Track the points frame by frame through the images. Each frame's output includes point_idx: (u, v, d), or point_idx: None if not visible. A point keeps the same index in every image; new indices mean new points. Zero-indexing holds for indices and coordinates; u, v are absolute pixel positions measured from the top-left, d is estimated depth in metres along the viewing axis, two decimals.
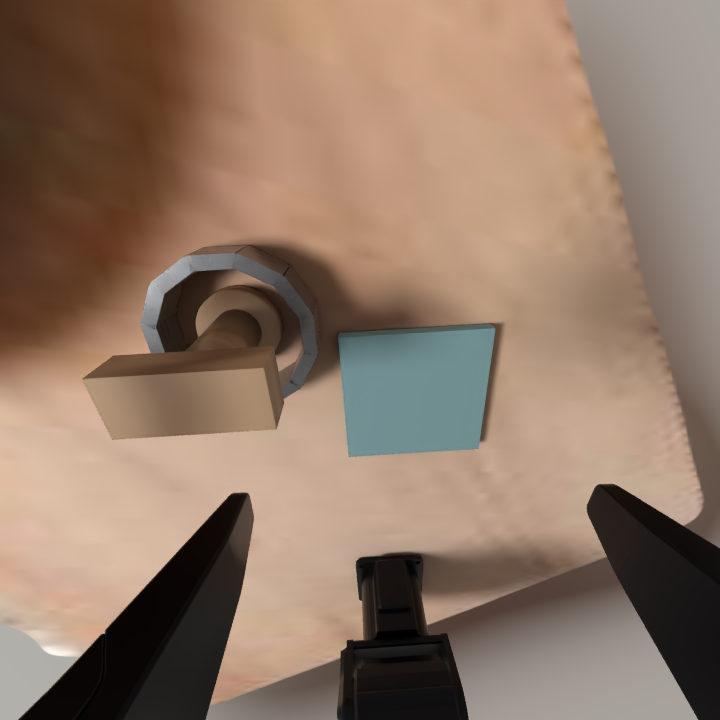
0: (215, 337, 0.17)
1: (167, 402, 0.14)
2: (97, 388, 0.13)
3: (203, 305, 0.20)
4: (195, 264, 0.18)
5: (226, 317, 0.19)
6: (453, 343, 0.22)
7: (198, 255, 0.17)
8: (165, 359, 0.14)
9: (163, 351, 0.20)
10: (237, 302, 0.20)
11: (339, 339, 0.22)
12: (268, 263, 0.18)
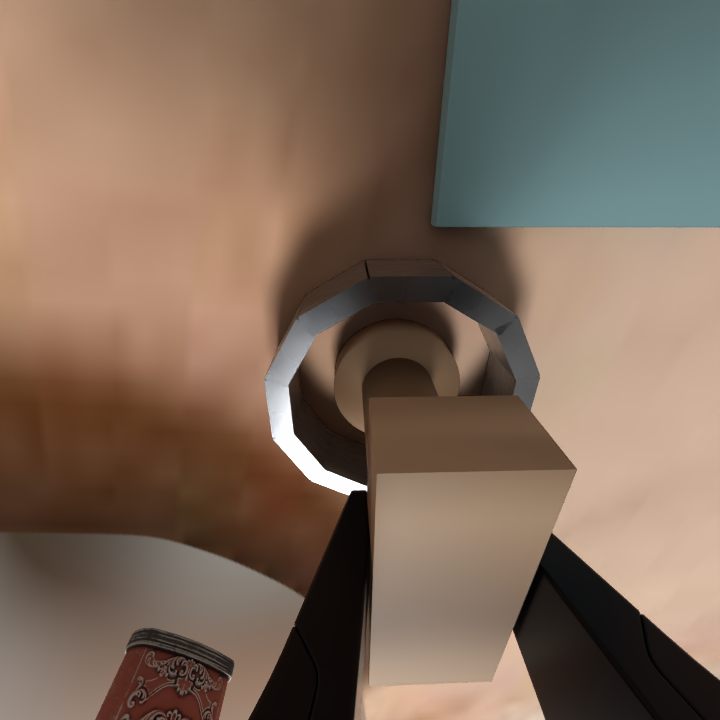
0: (368, 455, 0.10)
1: (434, 620, 0.07)
2: (387, 677, 0.08)
3: (353, 423, 0.14)
4: (284, 430, 0.13)
5: (363, 409, 0.12)
6: None
7: (271, 424, 0.13)
8: None
9: None
10: (350, 381, 0.13)
11: (439, 224, 0.11)
12: (287, 333, 0.12)
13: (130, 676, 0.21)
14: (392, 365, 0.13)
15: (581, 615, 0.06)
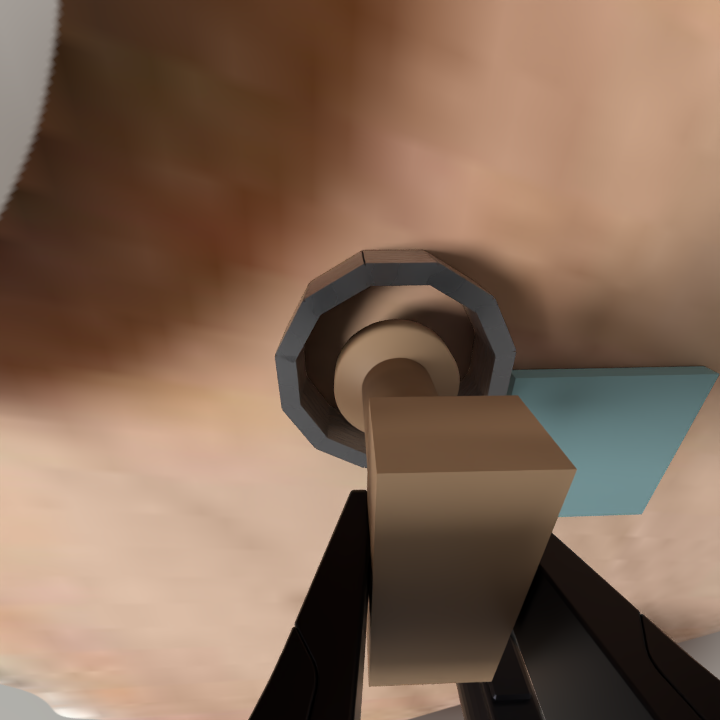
0: None
1: (435, 620, 0.07)
2: (387, 678, 0.08)
3: (353, 423, 0.14)
4: (375, 276, 0.12)
5: (363, 409, 0.12)
6: (660, 390, 0.17)
7: (383, 263, 0.12)
8: None
9: (297, 392, 0.14)
10: (351, 381, 0.13)
11: (516, 380, 0.16)
12: (466, 278, 0.13)
13: None
14: (392, 365, 0.13)
15: (581, 615, 0.06)
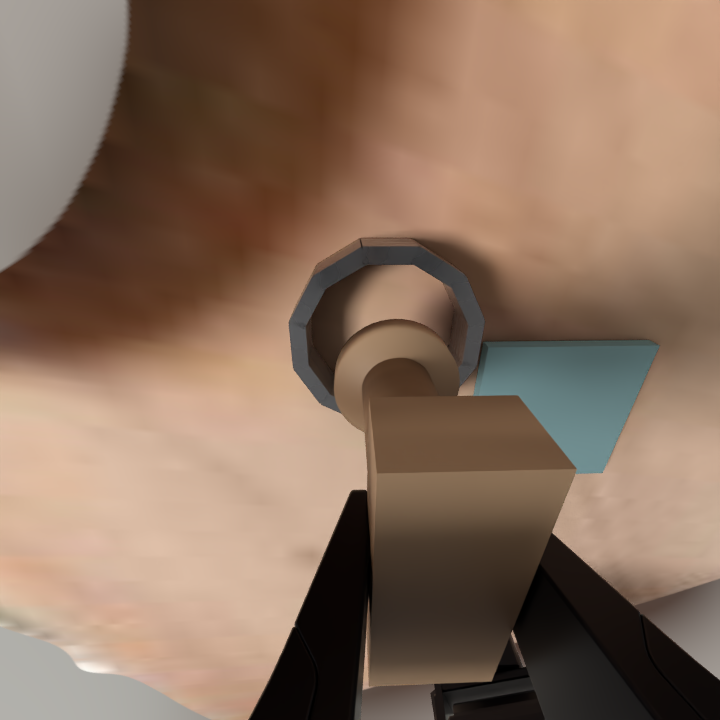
0: (368, 455, 0.10)
1: (434, 620, 0.07)
2: (387, 677, 0.08)
3: (353, 423, 0.14)
4: (370, 257, 0.15)
5: (363, 409, 0.12)
6: (610, 359, 0.20)
7: (376, 247, 0.15)
8: None
9: (306, 354, 0.17)
10: (351, 382, 0.13)
11: (489, 349, 0.19)
12: (444, 260, 0.16)
13: None
14: (392, 365, 0.12)
15: (581, 615, 0.06)
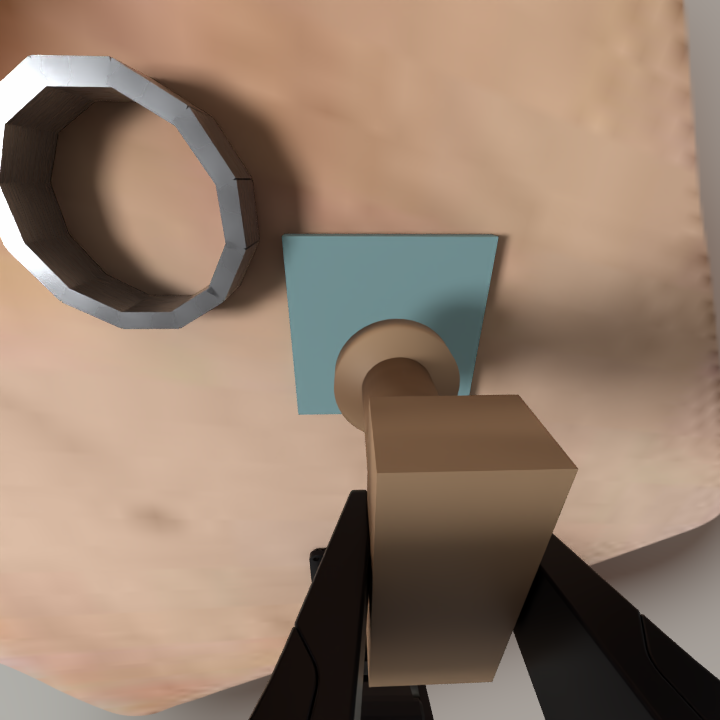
0: (368, 455, 0.10)
1: (435, 620, 0.07)
2: (387, 678, 0.08)
3: (353, 422, 0.14)
4: (47, 73, 0.11)
5: (363, 408, 0.12)
6: (441, 256, 0.16)
7: (51, 56, 0.11)
8: None
9: (15, 226, 0.13)
10: (350, 381, 0.13)
11: (283, 238, 0.16)
12: (170, 92, 0.12)
13: None
14: (392, 365, 0.12)
15: (581, 615, 0.06)
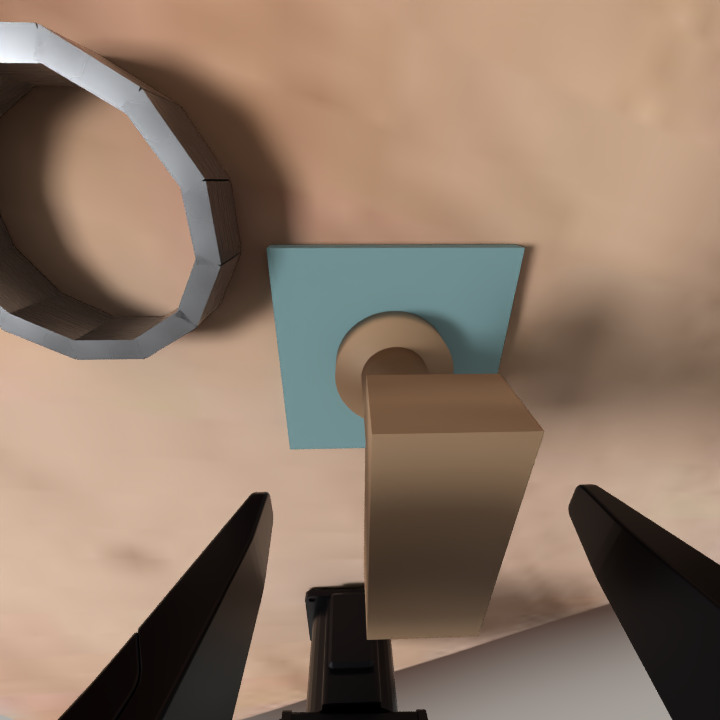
0: None
1: (425, 574, 0.08)
2: (383, 631, 0.09)
3: (353, 409, 0.15)
4: None
5: (362, 394, 0.13)
6: (456, 270, 0.14)
7: None
8: (365, 530, 0.09)
9: None
10: (351, 370, 0.14)
11: (268, 251, 0.13)
12: (120, 72, 0.10)
13: None
14: (389, 353, 0.13)
15: None
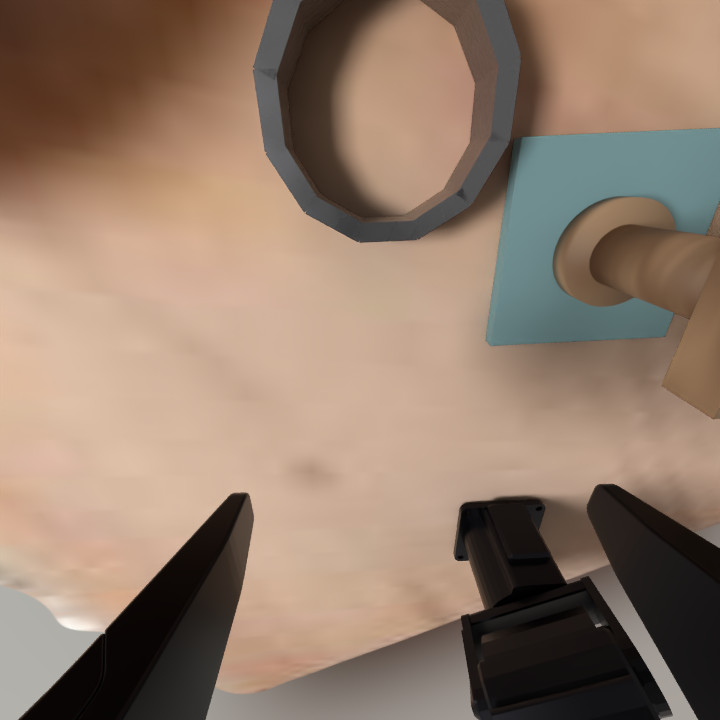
0: (664, 269, 0.12)
1: None
2: None
3: (574, 292, 0.17)
4: None
5: (611, 262, 0.15)
6: (683, 152, 0.15)
7: None
8: (708, 327, 0.11)
9: (281, 126, 0.13)
10: (583, 249, 0.16)
11: (523, 140, 0.15)
12: None
13: None
14: (630, 227, 0.15)
15: None
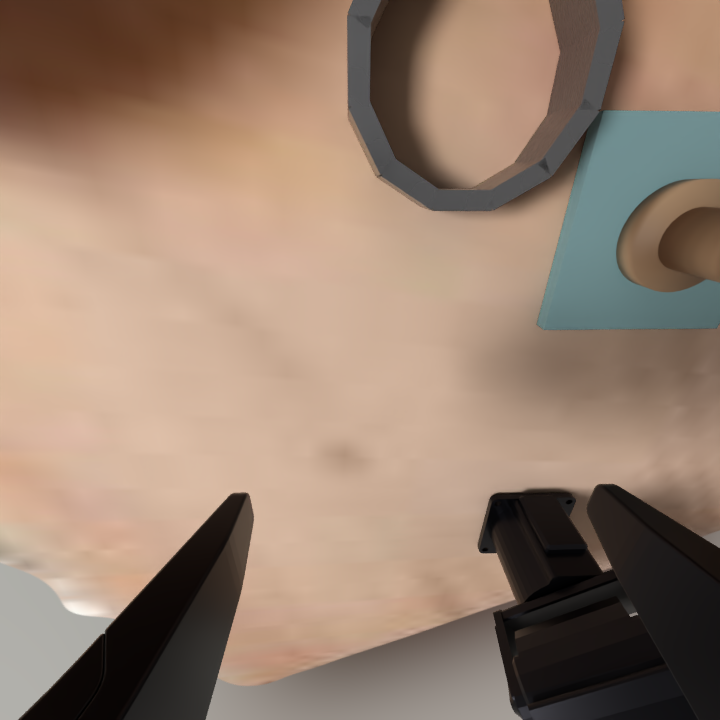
0: None
1: None
2: None
3: (639, 275, 0.17)
4: None
5: (688, 243, 0.15)
6: None
7: None
8: None
9: (368, 79, 0.12)
10: (654, 231, 0.16)
11: (604, 113, 0.14)
12: None
13: None
14: (707, 208, 0.15)
15: None
